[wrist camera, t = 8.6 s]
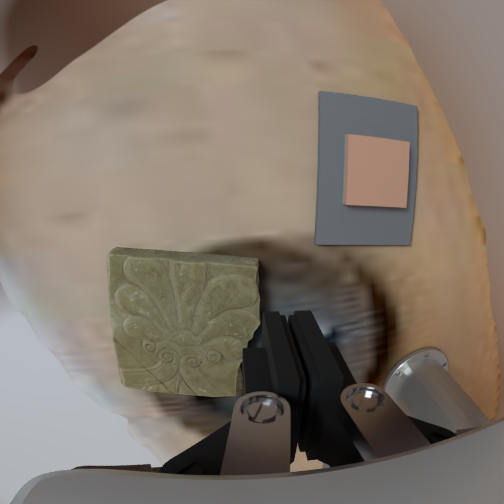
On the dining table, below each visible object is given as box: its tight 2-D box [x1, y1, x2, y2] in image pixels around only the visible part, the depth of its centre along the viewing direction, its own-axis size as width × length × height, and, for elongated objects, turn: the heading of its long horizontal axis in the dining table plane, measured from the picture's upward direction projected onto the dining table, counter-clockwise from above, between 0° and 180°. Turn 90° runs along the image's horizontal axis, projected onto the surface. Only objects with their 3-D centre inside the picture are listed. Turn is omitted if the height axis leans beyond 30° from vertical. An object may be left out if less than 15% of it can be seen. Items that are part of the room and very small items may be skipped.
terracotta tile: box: [342, 134, 410, 208], centre depth 35 cm, size 8×2×8 cm
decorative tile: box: [107, 247, 260, 397], centre depth 39 cm, size 19×20×4 cm
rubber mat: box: [314, 91, 418, 245], centre depth 36 cm, size 18×13×1 cm
